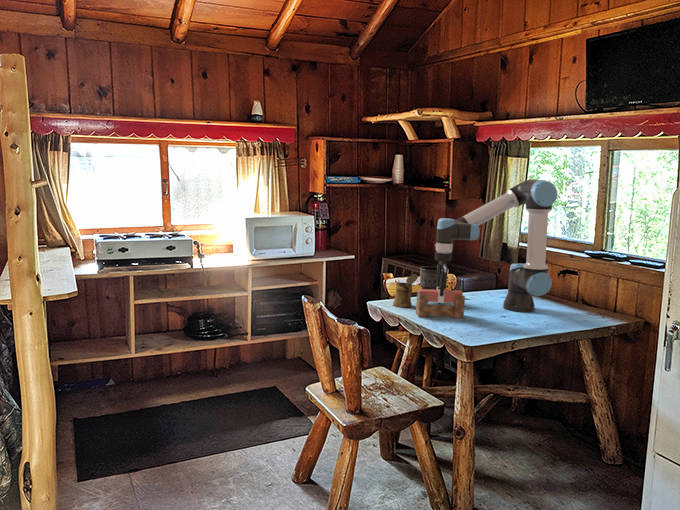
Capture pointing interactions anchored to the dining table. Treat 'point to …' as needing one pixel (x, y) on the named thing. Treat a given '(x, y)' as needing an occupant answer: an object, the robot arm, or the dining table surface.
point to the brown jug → (404, 292)
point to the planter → (428, 278)
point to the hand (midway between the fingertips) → (439, 301)
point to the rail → (433, 295)
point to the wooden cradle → (440, 308)
